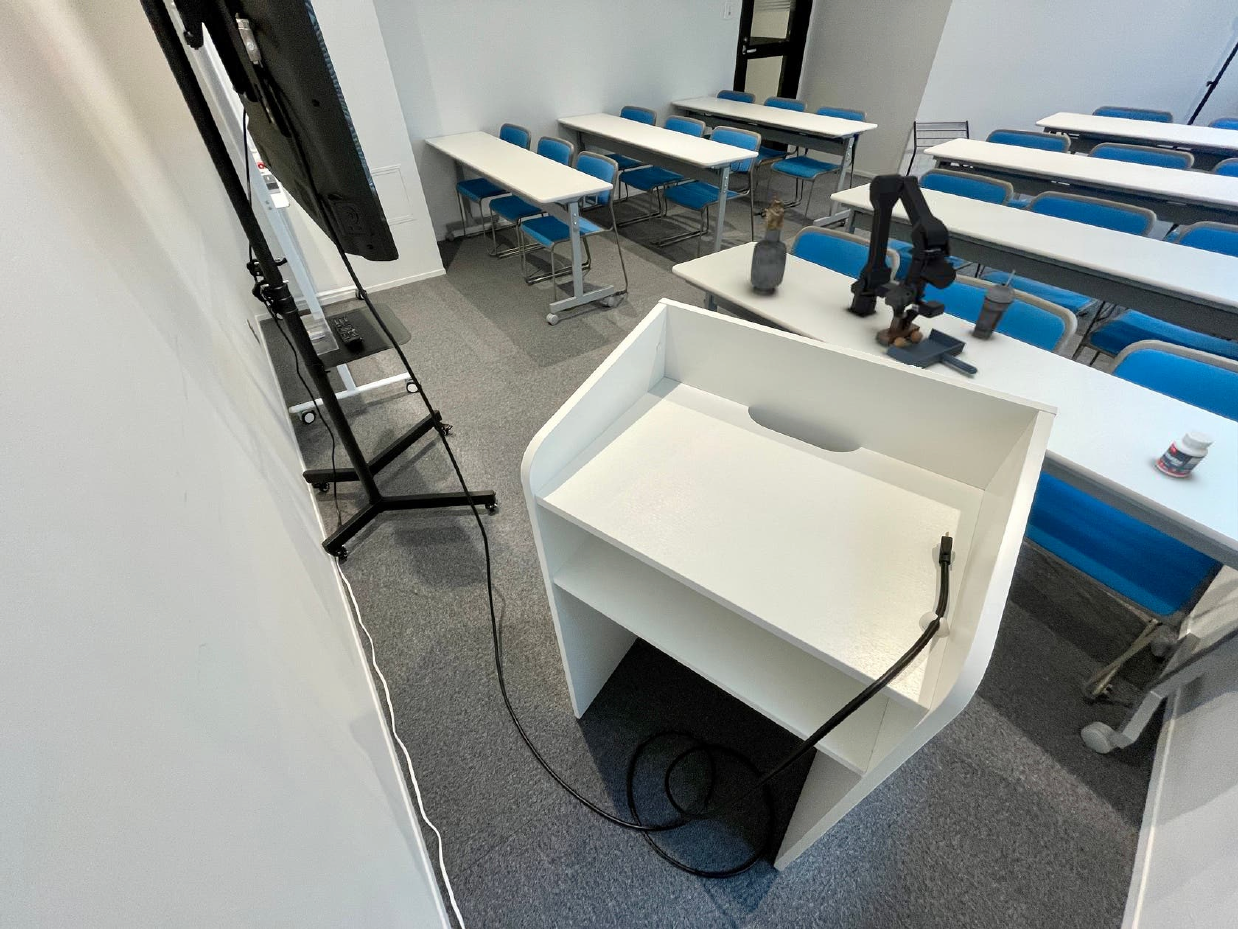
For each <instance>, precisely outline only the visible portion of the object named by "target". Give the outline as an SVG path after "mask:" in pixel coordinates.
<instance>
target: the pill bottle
mask: <svg viewBox="0 0 1238 929" xmlns="http://www.w3.org/2000/svg"><path fill="white" fill-rule="evenodd" d="M1214 441H1215V440H1214V438H1213V437H1212V436H1211V435H1210V434H1207V433H1205V432H1202V431H1198V430H1189V431H1187V433H1186V434H1185V435H1184V436H1183V437H1182V438H1178V439H1176V440H1174V441H1173V443H1172V444H1170V446H1169V447H1168V448H1167V449H1166V450H1165V452H1164V453H1163V454H1162V455H1161V456H1160V458H1159V459H1158V460H1157V461H1156V463H1155V466H1156V467H1157V469H1158V470H1160V471H1161V472H1163V473H1164V474H1166V475H1168V476H1172V477H1176V478H1183V477H1187V476H1188V475H1190V473H1191V472H1192V471H1193V470H1194V469H1196V467H1197V466H1198V465H1199V464H1200V463H1201V462H1202V461H1203V460H1204V459H1205V457H1206V456H1208V453H1209V449H1208V448H1209V447H1211V445H1212V444H1213V443H1214Z"/></svg>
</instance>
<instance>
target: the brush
mask: <svg viewBox="0 0 1238 929" xmlns="http://www.w3.org/2000/svg"><path fill="white" fill-rule="evenodd" d="M906 315H907V313H906V311H904V312H903V313H900V314H897V315H894V316H893V315H892V318H891V321H890V324H889V327H887V328H884V329H882V330H879V331H877V332H876V334H875V338H874V340H875V341H877V342H879V343H880V344H883V345H884V346H887V347H889V346H890V344H893V343H894V340H895V339H896V338H898V337H902V338H904V339H905V340H906V339H909V338H910V335H911V334H912V333H913V332H915V331H919V332H920V329H921V326H920V325H918V324H915V323H913V322H912V323H911V324H910V325H909V326H908V327H907V328H906V329H905V330H902V327H903V323H904V321H905V318H906ZM893 345H894V344H893Z"/></svg>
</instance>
